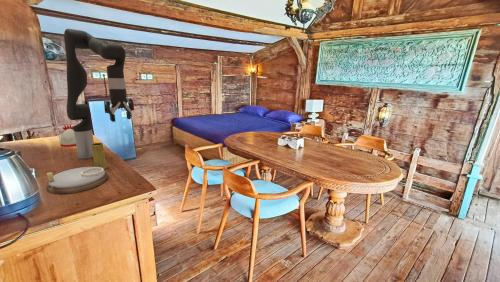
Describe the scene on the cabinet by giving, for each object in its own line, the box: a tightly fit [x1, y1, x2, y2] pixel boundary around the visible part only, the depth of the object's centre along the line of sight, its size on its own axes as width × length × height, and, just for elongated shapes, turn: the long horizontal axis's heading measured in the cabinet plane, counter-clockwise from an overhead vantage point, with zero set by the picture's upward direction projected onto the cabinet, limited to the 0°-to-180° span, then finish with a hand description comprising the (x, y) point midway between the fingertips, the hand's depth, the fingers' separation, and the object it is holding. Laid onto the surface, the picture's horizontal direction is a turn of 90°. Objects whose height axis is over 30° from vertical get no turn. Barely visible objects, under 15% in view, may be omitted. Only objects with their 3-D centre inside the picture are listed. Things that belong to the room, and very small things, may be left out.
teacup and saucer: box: [54, 133, 63, 142], centre depth 186 cm, size 9×8×4 cm
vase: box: [92, 142, 108, 170], centre depth 129 cm, size 6×6×14 cm
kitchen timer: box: [59, 124, 77, 148], centre depth 172 cm, size 14×14×15 cm
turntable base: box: [45, 170, 109, 195], centre depth 113 cm, size 24×24×3 cm
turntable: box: [46, 166, 106, 189], centre depth 112 cm, size 22×22×6 cm
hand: (121, 120), depth 119 cm, fingers open, 8 cm apart
